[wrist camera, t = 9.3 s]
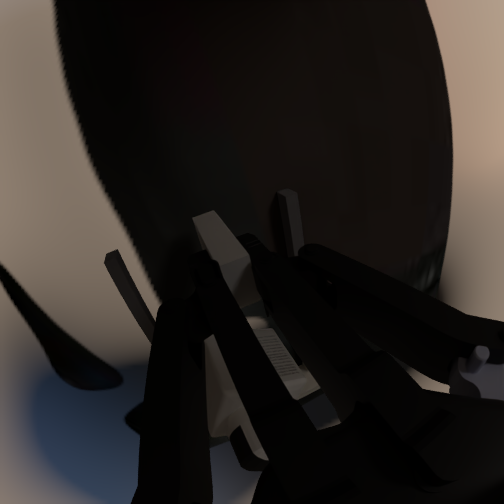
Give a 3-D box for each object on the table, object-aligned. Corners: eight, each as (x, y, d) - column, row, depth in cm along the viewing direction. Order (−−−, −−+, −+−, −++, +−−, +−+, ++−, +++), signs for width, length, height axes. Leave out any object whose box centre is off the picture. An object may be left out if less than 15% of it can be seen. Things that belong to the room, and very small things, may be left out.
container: (255, 374, 30) (304, 463, 20) (191, 380, 27) (228, 485, 16) (273, 326, 28) (341, 424, 17) (200, 329, 24) (249, 453, 14)
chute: (106, 253, 18) (99, 281, 15) (287, 188, 21) (315, 202, 18) (205, 409, 30) (213, 434, 27) (309, 364, 34) (324, 385, 30)
